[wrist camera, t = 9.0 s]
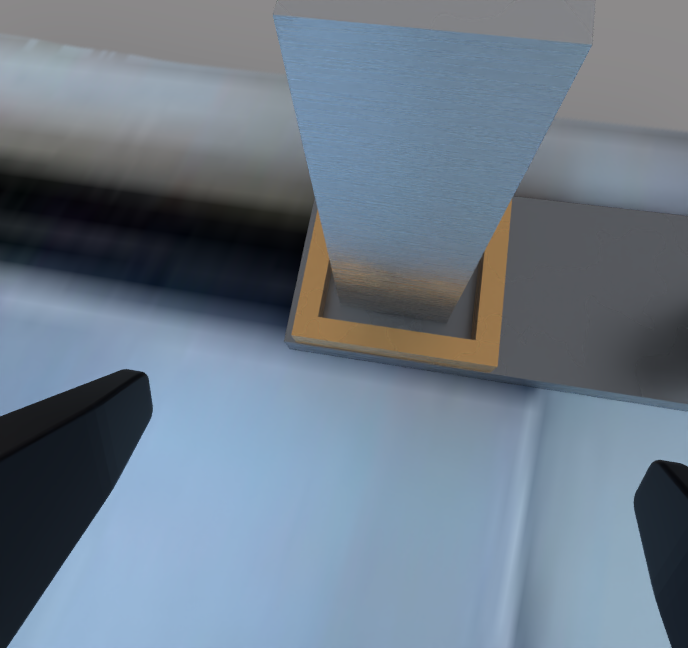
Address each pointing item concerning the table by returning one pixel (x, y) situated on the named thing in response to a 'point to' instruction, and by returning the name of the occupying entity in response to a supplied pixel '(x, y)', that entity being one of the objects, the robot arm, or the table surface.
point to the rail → (533, 307)
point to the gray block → (422, 130)
